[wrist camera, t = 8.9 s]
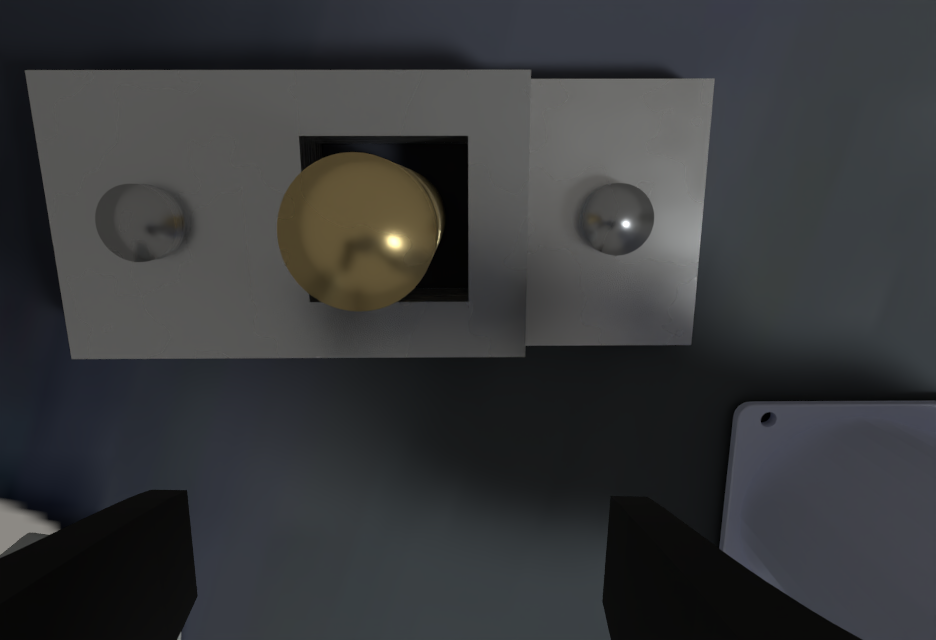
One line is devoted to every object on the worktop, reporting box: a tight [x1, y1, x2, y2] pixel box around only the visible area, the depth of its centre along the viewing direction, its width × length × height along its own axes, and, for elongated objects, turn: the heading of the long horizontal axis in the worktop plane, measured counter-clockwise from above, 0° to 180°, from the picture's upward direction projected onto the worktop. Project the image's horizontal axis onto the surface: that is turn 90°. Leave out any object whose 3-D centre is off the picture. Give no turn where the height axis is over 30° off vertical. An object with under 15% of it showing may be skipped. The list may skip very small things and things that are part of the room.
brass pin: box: [277, 152, 446, 311], centre depth 14 cm, size 3×3×7 cm
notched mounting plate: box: [25, 70, 714, 359], centre depth 16 cm, size 18×8×3 cm, turn 90°
